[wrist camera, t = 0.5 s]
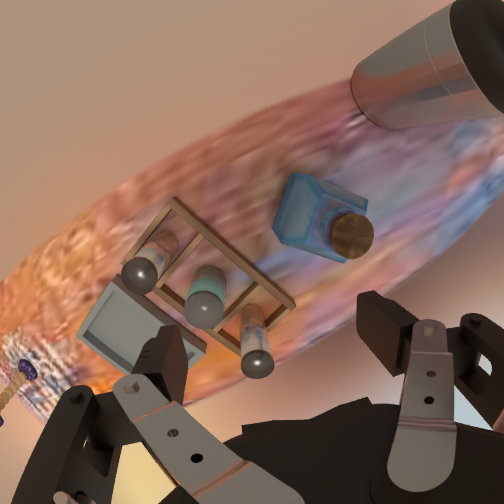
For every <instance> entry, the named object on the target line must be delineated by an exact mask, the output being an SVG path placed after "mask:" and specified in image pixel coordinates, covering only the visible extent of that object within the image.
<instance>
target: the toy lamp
mask: <svg viewBox="0 0 504 504" xmlns="http://www.w3.org/2000/svg"><path fill="white" fill-rule="evenodd" d="M18 369H19V373H18V375H17V377H15V378H14V379H13V382H10V383H9V385H8V387H6V388H5V390H4V392H3V393H1V395H0V412H1V410H2V409H3V408H4V407H5V404H7V403H8V402H9V400H10V398H12V397H13V395H14V393H16V392H17V391H18V388H19V387H21V386H22V383H23V382H25V381H26V379H27V380H30V381H32V380H35V379H36V378H37V372H36V370H35V368H34V367H33V366H32V365H31V364H30V363H29V362H28V361H26V360H24V359H22V360H20V362H19V365H18ZM3 423H4V421H3V419H2V417H1V416H0V427H1V426H2V425H3Z"/></svg>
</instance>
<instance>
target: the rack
mask: <svg viewBox="0 0 504 504" xmlns="http://www.w3.org/2000/svg"><path fill="white" fill-rule="evenodd" d="M171 209H173V210H174V211H175V212H176V213H177V214H178V215H180V216H181V217H182V218H183V219H184V220H185V221H186V222H187V223H189V224H190V225H191V226H192V227H193V228H194V229H196V230H197V231H198V232H199V233H198V234H197V235H196V236H195V238H194V239H193V240H192V241H191V242H190V243H189V244H188V246H187V247H186V248H185V249H184V250H183V251H182V252H181V254H180V255H179V256H178V257H177V258H176V259H175V261H174V262H173V263H172V264H171V265H170V266H169V268H168V269H167V270H166V271H165V272H164V274H163V275H162V276H161V277H160V278H159V280H158V281H157V283H156V285H155V287H154V288H153V290H152V291H153V292H155V293H156V294H157V295H158V296H160V297H161V298H162V299H163V300H165V301H166V302H167V303H168V304H170V305H171V306H172V307H173V308H175V309H176V310H177V311H179V312H180V313H181V314H182V315H184V306H185V301H184V300H183V299H182V298H180V297H179V296H178V295H177V294H176V293H174V292H173V291H172V290H171V289H169V288H168V287H167V286H166V285H164V282H165V281H166V280H167V279H168V278H169V277H170V275H171V274H172V273H173V272H174V271H175V270H176V268H177V267H178V266H179V265H180V264H181V263H182V262H183V260H184V259H185V258H186V257H187V256H188V255H189V254H190V252H191V251H192V250H193V249H194V248H195V247H196V246H197V244H198V243H199V242H200V241H201V240H202V239H203V238H204V237H205V238H206V239H207V240H208V241H209V242H210V243H212V244H213V245H214V246H215V247H216V248H217V249H219V250H220V251H221V252H222V253H223V254H224V255H226V256H227V257H228V258H229V259H230V260H231V261H233V262H234V263H235V264H236V265H237V266H238V267H240V268H241V269H242V270H243V271H244V272H245V273H247V274H248V275H249V276H250V277H251V278H252V279H254V280H255V282H254V283H253V284H252V285H251V286H250V287H249V288H248V289H247V290H246V291H245V292H244V293H243V294H242V295H241V296H240V297H239V298H238V299H237V300H236V301H235V302H234V303H233V304H232V305H231V306H230V307H229V308H228V309H227V310H226V311H225V312H224V313H223V318H222V320H221V322H220V323H219V324H218V325H217V326H215V327H213V328H210V329H202V330H204V331H205V332H206V333H208V334H209V335H211V336H212V337H213V338H215V339H216V340H217V341H219V342H220V343H222V344H223V345H225V346H226V347H227V348H229V349H230V350H232V351H233V352H235V353H236V354H238V355H239V356H240V357H241V344H240V342H239V341H237V340H236V339H235V338H233V337H232V336H230V335H229V334H228V333H226V332H225V331H224V330H222V329H221V328H222V327H223V326H224V325H225V324H226V323H227V322H228V321H230V320H231V319H232V318H233V317H234V316H235V315H236V314H237V313H238V312H239V311H240V310H241V309H242V308H243V307H244V306H245V305H246V304H247V303H248V302H249V301H250V300H251V299H252V298H253V297H254V296H255V295H256V294H257V293H258V292H259V291H260V290H261V289H262V288H264V289H265V290H267V291H268V292H269V293H270V294H271V295H273V296H274V297H275V298H276V299H277V300H279V301H280V302H281V303H282V304H283V305H282V306H281V307H280V308H279V309H278V310H277V311H276V312H274V313H273V314H272V315H271V316H270V317H269V318H268V319H267V320H266V321H265V325H266V330H267V333H268V332H269V331H270V330H271V329H273V328H274V327H275V326H276V325H277V324H278V323H279V322H280V321H281V320H282V319H283V318H284V317H286V316H287V315H288V314H289V313H290V312H291V311H292V310H293V309H294V308H295V307H296V304H295V302H294V300H293V299H291V298H290V297H289V296H288V295H287V294H286V293H285V292H283V291H282V290H281V289H280V288H279V287H278V286H276V285H275V284H274V283H273V282H272V281H271V280H269V279H268V278H267V277H266V276H265V275H264V274H263V273H261V272H260V271H259V270H258V269H257V268H256V267H254V266H253V265H252V264H251V263H250V262H249V261H248V260H246V259H245V258H244V257H243V256H242V255H241V254H240V253H238V252H237V251H236V250H235V249H234V248H233V247H232V246H230V245H229V244H228V243H227V242H226V241H225V240H224V239H222V238H221V237H220V236H219V235H218V234H217V233H216V232H214V231H213V230H212V229H211V228H210V227H209V226H208V225H206V224H205V223H204V222H203V221H202V220H201V219H200V218H198V217H197V216H196V215H195V214H194V213H193V212H192V211H191V210H189V209H188V208H187V207H186V206H185V205H184V204H183V203H181V202H180V201H179V200H178V199H177V198H176V197H173V198H172V199H171V200H170V201H169V202H168V203H167V205H166V206H165V207H164V208H163V209H162V211H161V212H160V213H159V214H158V216H157V217H156V218H155V219H154V221H153V222H152V223H151V224H150V226H149V227H148V228H147V230H146V231H145V232H144V233H143V235H142V236H141V237H140V239H139V240H138V241H137V243H136V244H135V245H134V247H133V248H132V249H131V251H130V252H129V253H128V255H127V256H126V257H125V259H124V260H123V261H122V263H121V264H122V265H123V266H124V265H125V264H126V263H127V262H128V261H129V260H130V259H131V258H133V257H134V256H135V255H136V253H137V252H138V251H139V249H140V248H141V247H142V246H143V244H144V243H145V242H146V240H147V239H148V238H149V237H150V235H151V234H152V233H153V232H154V230H155V229H156V228H157V227H158V225H159V224H160V223H161V222H162V220H163V219H164V218H165V217H166V215H167V214H168V213H169V212H170V211H171ZM184 316H185V315H184Z"/></svg>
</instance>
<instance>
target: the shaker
mask: <svg viewBox="0 0 504 504" xmlns="http://www.w3.org/2000/svg"><path fill="white" fill-rule="evenodd" d="M225 284H226V280H225V276H224V274H223V272H222V271H221V270H220V269H218V268H216V267H214V266H204V267H201V268H200V269H198V270H197V271H196V273H195V275H194V277H193V280H192V283H191V286H190V289H189V292H188V295H187V298H186V301H185V306H184V315H185V317H186V319H187V321H188V322H189V323H190V324H191V325H193V326H194V327H197V328H200V329H210V328H213V327H215V326H217V325H218V324H219V323H220V322H221V320H222V318H223V313H224V304H225Z"/></svg>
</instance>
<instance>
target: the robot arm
mask: <svg viewBox="0 0 504 504" xmlns="http://www.w3.org/2000/svg"><path fill="white" fill-rule="evenodd" d="M351 85H352V92H353V95H354V98H355V101H356V103H357V105H358V106H359V108H360V109H361V111H362V112H363V113H364V115H365V116H366V117H367V118H369V119H370V120H371V121H372V122H374V123H375V124H377V125H378V126H381V127H383V128H387V129H402V128H408V127H414V126H422V125H429V124H436V123H444V122H453V121H462V120H472V119H484V118H497V117H504V2H502V1H501V0H456V1H455V2H453V3H451V4H449V5H448V6H446V7H444V8H442V9H440V10H439V11H437V12H435V13H434V14H432V15H431V16H429V17H428V18H426V19H424V20H422V21H421V22H419V23H418V24H416V25H414V26H413V27H412V28H410V29H408V30H407V31H405V32H404V33H402V34H401V35H399V36H397V37H396V38H394V39H393V40H391V41H390V42H389V43H387V44H386V45H384V46H383V47H381V48H380V49H378V50H377V51H375V52H374V53H373V54H371V55H370V56H369V57H367V58H366V59H364V60H363V61H362V62H361V63H359V64H358V65H357V66H356V68H355V69H354V72H353V75H352V81H351ZM356 326H357V332H358V334H359V336H360V338H361V339H362V340H363V341H364V342H365V343H366V345H367V346H368V347H369V348H370V350H371V351H372V352H373V353H374V354H375V356H376V357H377V358H378V359H379V360H380V362H381V363H382V364H383V365H384V366H385V368H386V369H387V370H388V371H389V372H390V374H391V375H392V376H393V377H395V376H397V375H400V374H403V373H404V374H405V377H404V382H403V387H402V392H401V397H400V401H399V405H394V404H372V403H371V402H370V400H369V399H368V397H365V398H362V399H358V400H356V401H352V402H349V403H345V404H342V405H339V406H337V407H335V408H333V409H331V410H328V411H326V412H324V413H322V414H320V415H318V416H316V417H314V418H311V419H306V420H272V421H268V422H261V423H254V424H247V425H242V434H241V435H239V436H236V437H234V438H231V439H229V440H227V441H226V442H223V443H222V442H220V441H219V440H218V439H217V438H216V437H214V436H213V435H212V434H211V433H210V432H209V431H208V430H206V429H205V428H204V427H203V426H202V425H201V424H200V423H198V421H196V420H195V419H194V418H193V417H192V416H191V415H190V414H189V413H188V412H187V411H186V410H185V409H184V408H183V407H182V404H183V398H184V391H185V385H186V379H187V373H188V357H187V353H186V349H185V346H184V342H183V339H182V335H181V332H180V328H179V326H178V325H177V324H175V325H166V326H161V327H160V329H159V331H158V334H157V336H156V337H155V338H150V339H149V340H148V341H147V342H146V343H145V344H144V345H143V348H142V350H141V353H140V354H139V356H138V359H137V361H136V363H135V365H134V368H133V370H132V372H131V374H130V375H127V376H124V377H122V378H120V379H119V380H118V381H116V383H115V384H114V386H113V391H112V392H108V393H103V394H98V395H94V393H93V391H92V389H91V388H90V387H88V386H85V385H78V386H74V387H71V388H69V389H68V390H66V391H65V392H64V393H63V394H62V396H61V398H60V399H59V401H58V403H57V405H56V407H55V409H54V410H53V412H52V414H51V416H50V418H49V420H48V422H47V424H46V426H45V428H44V429H43V431H42V433H41V435H40V438H39V440H38V442H37V444H36V446H35V448H34V450H33V452H32V454H31V456H30V459H29V461H28V463H27V465H26V467H25V470H24V472H23V474H22V477H21V479H20V481H19V484H18V486H17V489H16V491H15V494H14V497H13V500H12V502H11V504H111V500H112V494H113V489H114V483H115V478H116V473H117V468H118V463H119V459H120V454H121V450H122V446H123V445H128V444H132V443H137V442H142V444H143V445H144V447H145V448H146V449H147V450H148V452H149V453H150V455H151V456H152V457H153V459H154V460H155V462H156V463H157V464H158V465H159V466H160V468H161V469H162V470H163V472H164V473H165V474H166V476H167V477H168V478H169V480H170V481H171V482H172V483H173V485H174V486H175V487H176V488H175V489H174V490H173V491H172V492H170V493H169V494H168V495H167V496H166V497H165V498H164V499H163V500H162V501H161V502H160V503H158V504H504V329H503V328H501V327H500V326H498V325H497V324H496V323H494V322H493V321H491V320H490V319H488V318H487V317H485V316H483V315H481V314H477V313H469V314H465V315H464V316H462V317H461V321H460V326H459V327H454V328H447V329H446V327H445V326H444V324H442V323H441V322H439V321H436V320H431V319H426V320H419V319H418V318H416V317H415V316H414V315H412V314H411V313H410V312H408V311H406V309H404V308H403V307H401V305H399V304H398V303H397V302H395V301H393V300H390V299H387V298H384V297H382V296H381V295H380V294H378V293H377V292H376V291H374V290H372V291H368V292H364V293H359V294H358V296H357V317H356ZM481 354H482V355H484V356H485V357H486V358H487V359H488V360H489V361H490V362H491V365H492V372H491V375H490V376H489V374H488V373H486V371H484V370H483V369H482V368H481V367H480V366H479V365H478V363H479V361H480V357H481ZM454 385H455V386H456V387H457V389H458V390H460V392H461V393H462V394H463V395H464V396H465V398H466V399H467V400H468V401H469V402H470V403H471V404H472V405H473V407H474V408H475V409H476V410H477V411H478V412H479V414H480V415H481V416H482V417H483V418H484V420H485V421H486V422H487V423H488V424H489V426H490V427H491V428H492V429H493V431H492V430H487V429H483V428H478V427H473V426H470V425H466V424H462V423H458V422H454ZM85 440H86V443H85ZM84 443H85V446H84ZM83 446H84V449H83Z"/></svg>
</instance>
